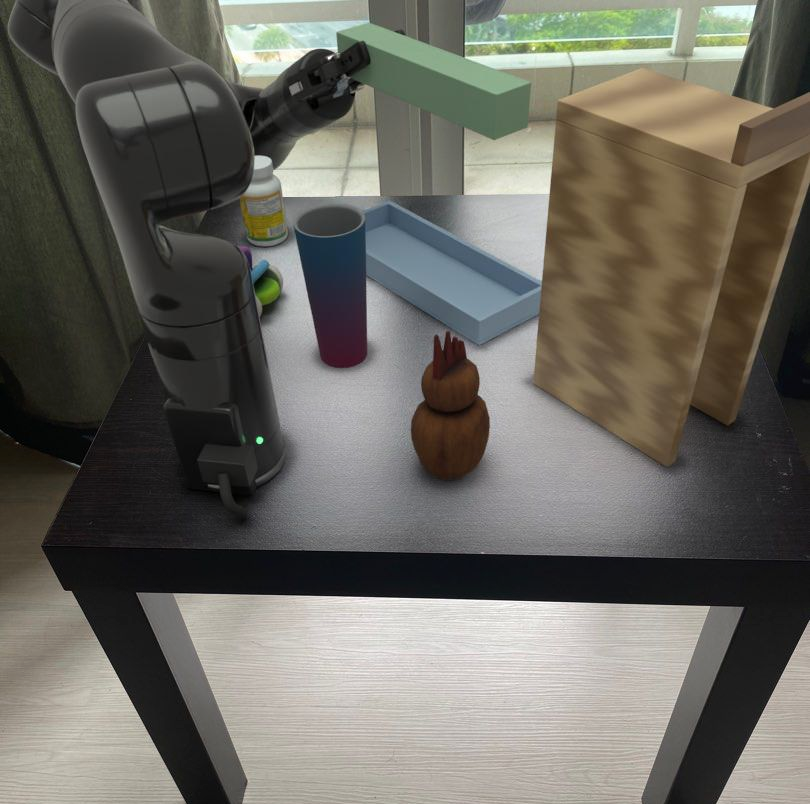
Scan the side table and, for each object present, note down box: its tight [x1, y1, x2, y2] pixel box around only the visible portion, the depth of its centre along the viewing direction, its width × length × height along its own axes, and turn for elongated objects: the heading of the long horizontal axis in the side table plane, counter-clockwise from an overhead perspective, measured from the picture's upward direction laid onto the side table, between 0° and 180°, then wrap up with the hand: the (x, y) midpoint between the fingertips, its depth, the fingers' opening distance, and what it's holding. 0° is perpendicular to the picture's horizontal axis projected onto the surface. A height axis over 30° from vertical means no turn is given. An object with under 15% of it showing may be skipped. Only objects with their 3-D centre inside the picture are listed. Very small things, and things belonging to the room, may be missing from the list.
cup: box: [292, 202, 368, 369], centre depth 85 cm, size 7×7×15 cm
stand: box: [532, 67, 810, 468], centre depth 72 cm, size 17×10×30 cm, turn 39°
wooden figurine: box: [410, 330, 491, 481], centre depth 72 cm, size 7×6×15 cm
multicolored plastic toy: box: [237, 245, 284, 317], centre depth 95 cm, size 8×10×7 cm
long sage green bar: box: [336, 22, 532, 141], centre depth 84 cm, size 24×4×4 cm, turn 40°
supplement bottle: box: [238, 156, 289, 247], centre depth 105 cm, size 5×5×10 cm
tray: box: [361, 200, 542, 346], centre depth 99 cm, size 28×10×3 cm, turn 39°
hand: (384, 46), depth 86 cm, fingers closed on long sage green bar, 4 cm apart
